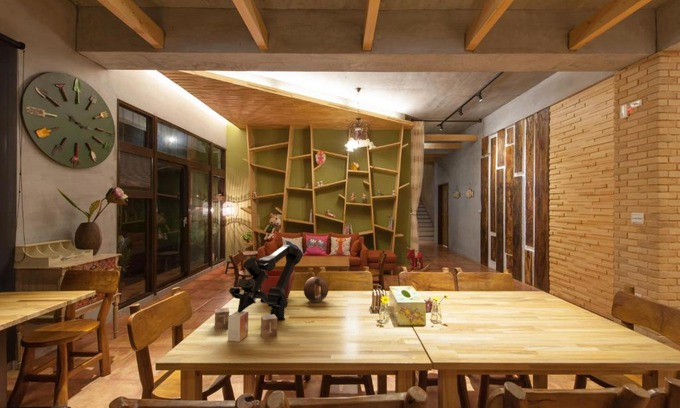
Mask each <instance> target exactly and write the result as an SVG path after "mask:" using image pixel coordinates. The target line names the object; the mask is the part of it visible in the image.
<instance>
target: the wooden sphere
mask: <svg viewBox="0 0 680 408" xmlns="http://www.w3.org/2000/svg"><path fill="white" fill-rule="evenodd" d="M303 294H304V296H305V298H306V299H307V300H308V301H310V302H312V303H320V302H322V301H323V300H325V299H326V298H327V295H328V294H329V285H328V283H327V281H326V280H325V279H324V278H322V277H320V276H312V277H310V278H308V279H307V280H306V281H305V283H304V285H303Z"/></svg>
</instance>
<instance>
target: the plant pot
mask: <svg viewBox="0 0 680 408" xmlns="http://www.w3.org/2000/svg"><path fill="white" fill-rule="evenodd" d="M282 271H283V269H281V270H280V269H273V270H272V271H265V273H268V279H264V281H263V283H262V285H261V287H262V288H261V289H259V291H263V292H264V293H265V294H266V295H267V294H268V293H269V291H270V288H271V287H272V288H274V287H275V286H276V285H277V282H278V280H279V278H280V275H281V273H282ZM294 276H295V270H293V271H292V274H291V276H290V278H289V281H288V283H287V285H286V288H285V299H286V301H287V302H288V299H289V296H290V294H291V290H292V285H293V282H294ZM267 296H268V295H267Z"/></svg>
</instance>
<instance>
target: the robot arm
mask: <svg viewBox="0 0 680 408" xmlns="http://www.w3.org/2000/svg"><path fill="white" fill-rule="evenodd" d="M303 255H304V253H303V252H302V250H301V249H298V248H296V247H294V246H293V245H290V244H289V245H288V244H283V245H282V246H281V247H280V248H278V249H277V250H276V251H274V252H272V253H271V254H270V255H267V256H263V257H260V258H259V259H258V260H257V258H256V256H250V258H248V259H247V260H245V261H244V262H243V264H242V267H243V268H244V269H245V271H246V272H247V274H248V275H250V276H251V277H250V278H248V279H245V278H238V280H237V284H236V286H237V287H236V286H232V287H230V288H229V290H228V293H230V295H231V296H232V297H233V298H235V299H239V302H238V307H237V311H238V312H239V313H240V312H242V311H245V310H246V309H247V308H248V307H251V306H252V305H253V304H256V303H257V299H259V300H260V301H259V302H260V303H261V304H267V306H268V307H269V308H270V309H269V315H272V314H275V316H276V317H277V322H278V321H285V320H286V318H285V309H286V308H287V307H288V305H289V304H288V303H289V302H288V300H287V301H286V299H285V288H286V285H287V283H288V281H289V278H290V276H291V274H292V271H294V268H295V266H297V264H299V263H300V262H301V260H302V258H303ZM284 258H285V264H284V267H283V269H282V270H283V271H282V273H281V275H280V278H279V280H278V282H277V285H276V286H275V287H274V288H272V287H271V288H270V291H269V293H268V294H267V295H268V296H267V295H266V294H265V293H264V292H263V291H260V289H261V288H262V287H261V285H262V283H263V281H264V279H268V273H265V271H272V270H274V269H275V268H276V266H277V263H278V262H279V261H281V260H282V259H284ZM239 287H240V288H241V289H240V288H239Z"/></svg>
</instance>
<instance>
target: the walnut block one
mask: <svg viewBox="0 0 680 408" xmlns="http://www.w3.org/2000/svg"><path fill="white" fill-rule="evenodd" d="M260 319H261V320H260V334H261V337H262V339H269V338H277V337H278V321H277V317H276V316H275V314H272V315H270V314H265V315H264V314H263V315H261V316H260Z"/></svg>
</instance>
